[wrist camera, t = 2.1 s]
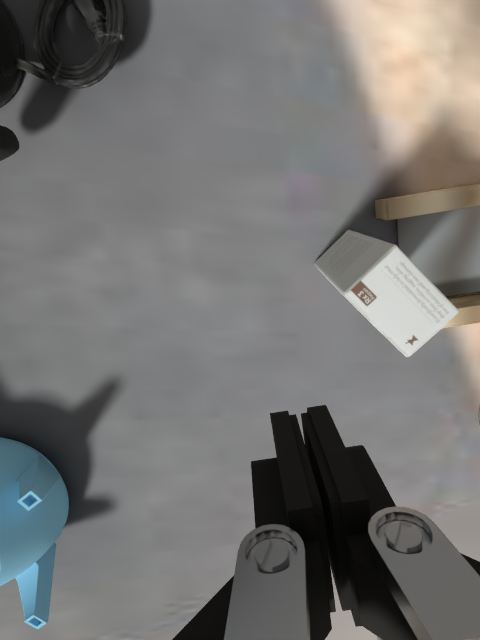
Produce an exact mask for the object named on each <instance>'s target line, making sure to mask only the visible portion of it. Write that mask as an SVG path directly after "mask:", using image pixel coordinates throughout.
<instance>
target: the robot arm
mask: <svg viewBox="0 0 480 640" xmlns="http://www.w3.org/2000/svg"><path fill="white" fill-rule="evenodd" d="M270 416H271V423H272V429H273V436H274V442H275V449H276V455H277V458H271V459H264V460H258V461H251V469H252V483H253V498H254V512H255V527H256V529H254V530H252V531H251V532H250V533H249V534H247V535H246V536H245V538H244V539H243V540H242V542H241V544H240V547H239V550H238V555H237V561H236V567H235V574H234V576H233V577H232V578H231V579H230V580H229V581H228V582H227V583H226V584H225V585H224V586H223V587H222V588H221V589H220V591H219V592H218V593H217V594H216V595H215V596H214V597H213V598H212V599H211V600H210V601H209V602H208V603H207V604H206V605H205V606H204V607H203V608H202V609H201V610H200V611H199V612H198V613H197V615H196V616H195V617H194V618H193V619H192V620H191V621H190V622H189V623H188V624H187V625H186V626H185V627H184V628H183V629H182V630H181V631H180V632H179V633H178V634H177V635H176V636H175V638H173V640H325V638H326V637H327V635H328V634H329V632H330V631H331V629H332V626H331V619H330V612H335V611H336V610H335V601H334V593H333V585H332V577H331V570H332V573H333V577H334V581H335V585H336V588H337V592H338V596H339V600H340V603H341V607H342V610H343V611H345V610H351V612H352V615H353V619H354V622H355V625H356V626H363V627H365V628H366V629H368V630H369V631H371V632H372V633H374V634H375V635H377V638H378V640H480V562H479V561H477V560H474V559H472V558H470V557H468V556H465V555H463V554H461V553H460V552H459V551H458V550H457V549H456V548H455V546H454V545H453V544H452V543H451V542H450V541H449V539H448V538H447V537H446V536H445V535H444V534H443V532H442V531H441V530H440V529H439V528H438V527H437V525H436V524H435V523H434V522H433V521H432V520H431V519H430V518H429V517H427V516H426V515H424V514H422V513H421V512H419V511H417V510H413V509H410V508H407V507H396V505H395V503H394V502H393V500H392V498H391V496H390V494H389V492H388V490H387V489H386V487H385V485H384V483H383V481H382V479H381V477H380V475H379V474H378V472H377V470H376V468H375V466H374V464H373V462H372V461H371V459H370V457H369V455H368V453H367V451H366V449H365V448H364V446H362V445H359V446H352V447H346V448H345V446H344V444H343V441H342V439H341V437H340V435H339V433H338V430H337V428H336V426H335V424H334V422H333V420H332V417H331V415H330V413H329V411H328V409H327V407H326V405H322V406H315V407H309V408H307V413H302V414H301V418H302V426H303V434H304V441H305V444H304V441H303V437H302V434H301V430H300V427H299V424H298V420H297V417H296V414H295V415H289V413H288V411H282V412H276V413H270ZM330 566H331V569H330Z"/></svg>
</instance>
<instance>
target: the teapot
mask: <svg viewBox="0 0 480 640" xmlns="http://www.w3.org/2000/svg"><path fill="white" fill-rule="evenodd" d="M68 511H69V498H68V492H67V489H66V486H65V484H64V481H63V479H62V477H61V475H60V474H59V472H58V471H57V469H56V468H55V466H54V465H53V464H52V463H51V462H50V461H49V460H48V459H47V458H46V457H45V456H44V455H43V454H41V453H40V452H39V451H37V450H36V449H34V448H32V447H30V446H28V445H26V444H24V443H21V442H18V441H15V440H11V439H6V438H0V586H1V585H3V584H5V583H6V582H8V581H10V580H12V579H14V578H15V579H16V580H17V581H18V585H19V590H20V595H21V600H22V605H23V610H24V615H25V620H24V622H26V623H27V624H29V625H31V626H32V627H34V628H36V629H39V628H40V627H42V626H43V625H45V624H46V623H47V622H48V616H49V606H50V596H51V587H52V577H53V567H54V558H55V548H56V544H55V543H54V542H55V541H56V539H57V538H58V537H59V535H60V533H61V531H62V530H63V528H64V526H65V524H66V520H67V517H68Z"/></svg>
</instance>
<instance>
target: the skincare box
mask: <svg viewBox="0 0 480 640" xmlns="http://www.w3.org/2000/svg"><path fill="white" fill-rule="evenodd" d="M314 265H315V266H316V267H317V268H318V269H319V271H320V272H321V273H322V274H323V275H324V276H325V277H326V278H327V279H328V280H329V281H330V282H331V283H332V284H333V286H334V287H335V288H336V289H337V290H338V291H339V292H340V293H341V294H342V295H343V296H344V297H345V298H346V299H347V300H348V301H349V302H350V303H351V304H352V305H353V306H354V307H355V308H356V309H357V310H358V311H359V312H360V313H361V314H362V315H363V316H364V317H365V318H366V319H367V320H368V321H369V322H370V323H372V324H373V325H374V326H375V327H376V328H377V330H378V331H380V332H381V333H382V334H383V335H384V336H385V337H386V338H387V339H388V340H389V341H390V342H391V343H392V344H393V345H394V346H395V347H396V348H397V349H398V350H399V351H400V352H402V353H403V354H404V355H405V356H406V357H410V356H411V355H412V354H413V353H414V352H416V351H417V350H418V349H419V348H420V347H421V346H423V345H424V344H425V343H426V342H427V341H428V340H429V339H430V338H431V337H433V336H434V335H435V334H436V333H437V332H438V331H439V330H440V329H442V328H443V327H444V326H445V325H446V324H447V323H448V322H449V321H450V320H451V319H452V318H453V317H454V316H455V315H456V314H458V312H459V310H458V309H457V308H456V307H455V306H454V305H453V304H452V303H451V302H450V301H449V300H448V299H447V297H446V296H445V295H444V294H443V293H442V292H441V291H440V290H439V289H438V288H437V287H436V286H435V285H434V284H433V283H432V282H431V281H430V280H429V279H428V278H427V277H426V276H425V275H424V273H423V272H422V271H421V270H420V269H419V268H418V267H417V266H416V265H415V264H414V263H413V262H412V261H411V260H410V259H409V258H408V257H407V256H406V255H405V254H404V253H403V252H402V251H401V250H400V249H399V248H398V246H397V245H394V244H391V243H388V242H385V241H383V240H379V239H376V238H373V237H370V236H367V235H364V234H361V233H358V232H355V231H351V230H347V231H346V232H345V233H344V234H343V235H342V236H341V237H340V238H339V239H338V240H337V241H336V242H335V243H334V244H333V245H332V246H331V247H330V248H329V249H328V250H327V251H326V252H325V253H324V254H323V255H322V256H321V257H320V258H319V259H318V260H316V261H315V263H314Z"/></svg>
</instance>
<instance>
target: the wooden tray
mask: <svg viewBox="0 0 480 640" xmlns="http://www.w3.org/2000/svg"><path fill="white" fill-rule="evenodd" d="M375 211H376V219H383V220H393V219H396V223H397V244H398V248H399V249H400V250H401V251H402V252H403V253H404V254H405V255H406V256H407V257H408V258H409V259H410V260H411V261H412V262H413V263H414V264H415V265H416V266H417V267H418V268H419V269H420V270H421V271H422V272H423V273H424V275H425V276H426V277H427V278H428V279H429V280H430V281H431V282H432V283H433V284H434V285H435V286H436V287H437V288H438V289H439V290H440V291H441V292H442V293H443V294H444V295H445V296H446V297H448V296H455V295H461V294H468V293H474V292H480V183H476V184H470V185H464V186H458V187H452V188H446V189H440V190H434V191H428V192H422V193H416V194H410V195H404V196H397V197H391V198H385V199H379V200H375ZM448 300H449V301H450V302H451V303H452V304H453V305H454V306H455V307H456V308H457V309H458V310H459V312H458V314H456V315H455V316H454V317H453V318H452V319H451V320H450V321H449V322H448V323H447V324H446V325H445V326H444V327H443V328H447V327H453V326H460V325H466V324H473V323H479V322H480V294H475V295H469V296H462V297H456V298H450V299H448Z"/></svg>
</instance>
